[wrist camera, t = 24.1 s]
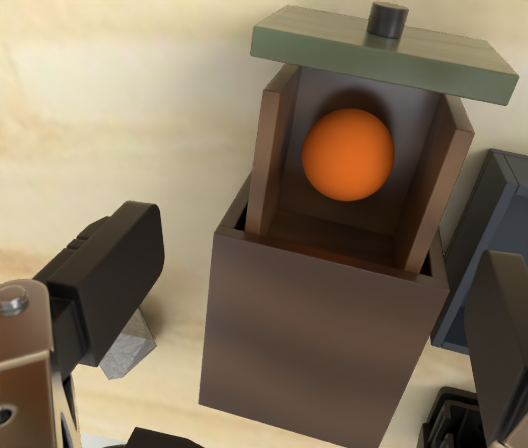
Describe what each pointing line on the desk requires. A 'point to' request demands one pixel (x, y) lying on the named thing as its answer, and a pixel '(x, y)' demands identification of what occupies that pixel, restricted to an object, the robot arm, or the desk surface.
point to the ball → (348, 154)
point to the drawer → (378, 104)
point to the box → (483, 238)
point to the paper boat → (128, 348)
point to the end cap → (453, 422)
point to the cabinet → (313, 333)
